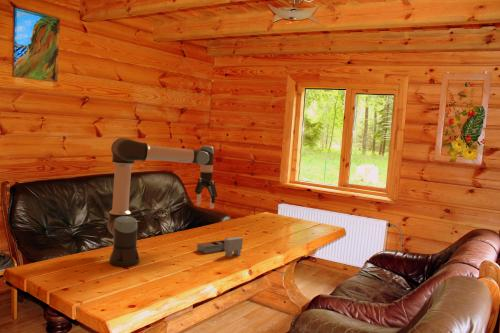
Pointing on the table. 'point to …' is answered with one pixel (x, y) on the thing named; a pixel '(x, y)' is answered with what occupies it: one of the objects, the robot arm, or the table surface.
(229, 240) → the upright grey box
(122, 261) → the robot arm
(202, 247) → the block with rectangular hole
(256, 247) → the table surface
